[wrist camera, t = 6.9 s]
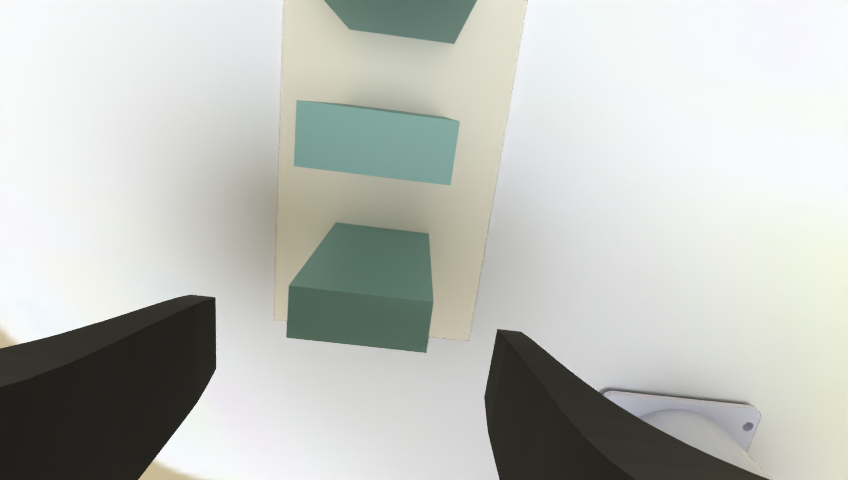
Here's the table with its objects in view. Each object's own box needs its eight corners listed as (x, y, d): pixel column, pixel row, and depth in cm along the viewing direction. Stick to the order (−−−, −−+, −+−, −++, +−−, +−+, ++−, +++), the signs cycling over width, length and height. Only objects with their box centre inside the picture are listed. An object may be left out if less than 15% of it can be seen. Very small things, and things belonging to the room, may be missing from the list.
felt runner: (468, 337, 21) (468, 340, 20) (275, 316, 20) (274, 319, 20) (599, -423, 13) (602, -435, 13) (301, -479, 13) (298, -492, 13)
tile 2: (439, 156, 18) (450, 185, 11) (341, 144, 18) (293, 165, 11) (444, 117, 17) (459, 121, 11) (344, 103, 17) (296, 100, 11)
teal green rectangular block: (424, 268, 19) (426, 352, 13) (333, 257, 19) (286, 337, 12) (428, 233, 19) (433, 301, 12) (335, 222, 19) (288, 285, 12)
